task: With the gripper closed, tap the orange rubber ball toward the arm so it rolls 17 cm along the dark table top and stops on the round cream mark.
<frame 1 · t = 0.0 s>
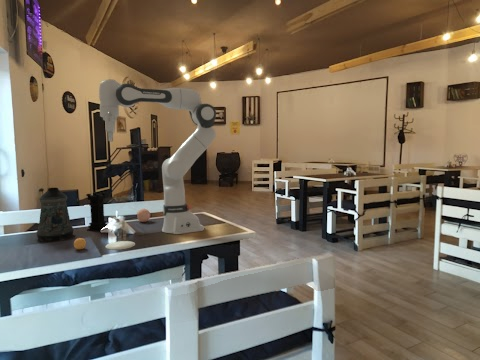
hand: (110, 141, 174), 48 cm above the table, tool pointing down, fingers open, 8 cm apart
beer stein: (54, 237, 178), on the table
ball: (79, 243, 156), on the table
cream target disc: (120, 245, 161), on the table
chess piece: (98, 229, 193), on the table
toy ball: (143, 222, 211), on the table
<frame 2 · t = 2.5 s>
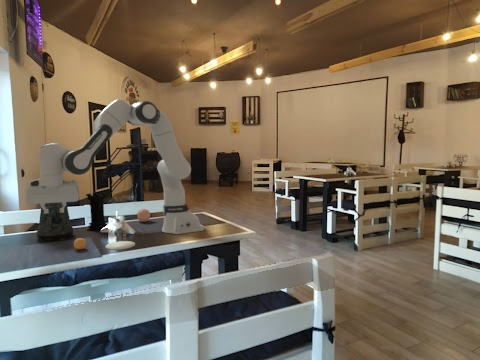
hand: (54, 212, 151), 17 cm above the table, tool pointing down, fingers open, 5 cm apart
nothing on the table moved.
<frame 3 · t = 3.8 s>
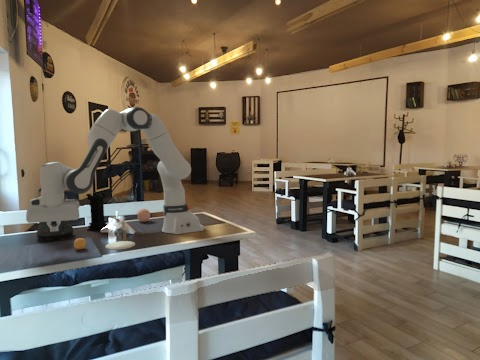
hand: (54, 231, 152), 9 cm above the table, tool pointing down, fingers closed
nothing on the table moved.
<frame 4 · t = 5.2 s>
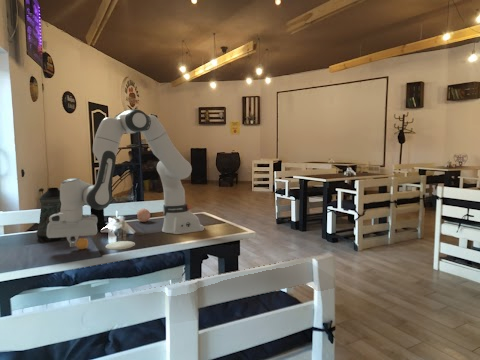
hand: (73, 246, 155), 2 cm above the table, tool pointing down, fingers closed
ball: (82, 243, 156), on the table, touching gripper
everything else where it was.
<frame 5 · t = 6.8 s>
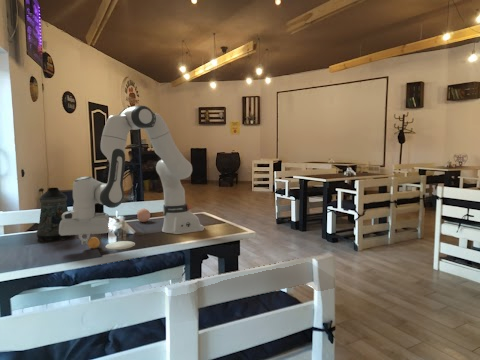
hand: (84, 243, 156), 2 cm above the table, tool pointing down, fingers closed
ball: (93, 242, 157), on the table, touching gripper
everything else where it was.
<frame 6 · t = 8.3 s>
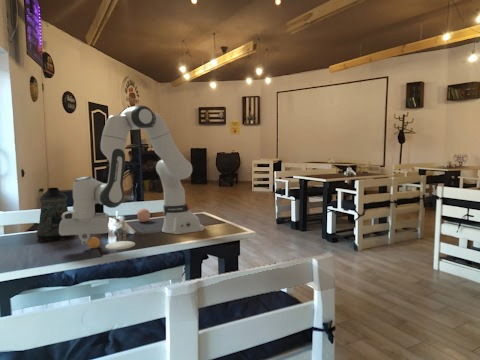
hand: (84, 243, 156), 2 cm above the table, tool pointing down, fingers closed
nothing on the table moved.
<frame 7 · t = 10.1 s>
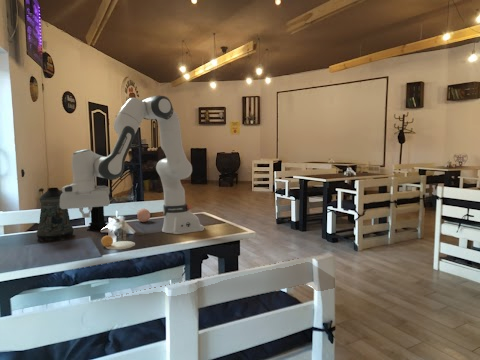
hand: (86, 217, 155), 14 cm above the table, tool pointing down, fingers closed
ball: (107, 241, 160), on the table
everything else where it was.
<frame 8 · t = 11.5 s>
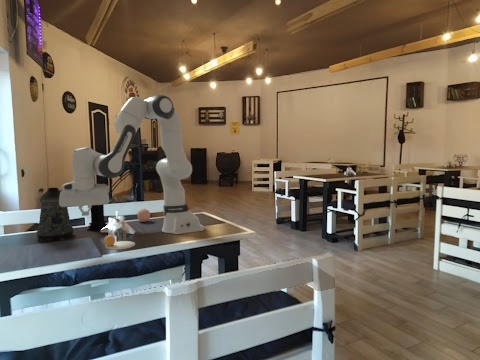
hand: (85, 215, 155), 15 cm above the table, tool pointing down, fingers closed
ball: (109, 240, 160), on the table
everything else where it was.
at the end: ball 4.7 cm from the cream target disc (horizontally); ball at rest at the end (0.0 cm/s); ball moved 12.4 cm from its start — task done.
